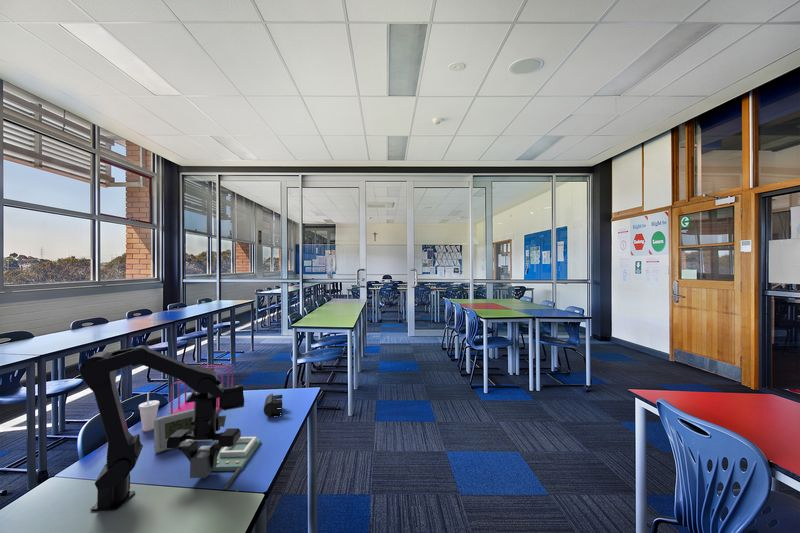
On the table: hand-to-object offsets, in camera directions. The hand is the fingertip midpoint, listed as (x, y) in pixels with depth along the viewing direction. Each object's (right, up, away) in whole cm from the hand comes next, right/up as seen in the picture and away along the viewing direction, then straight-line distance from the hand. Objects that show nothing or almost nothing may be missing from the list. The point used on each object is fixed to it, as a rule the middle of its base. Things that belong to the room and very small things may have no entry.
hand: (204, 466), depth 94 cm
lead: (+9, -3, 0) cm, 9 cm away
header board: (+2, -3, +11) cm, 12 cm away
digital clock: (-19, -4, +18) cm, 27 cm away
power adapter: (+3, -4, +43) cm, 44 cm away
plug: (0, -1, 0) cm, 1 cm away
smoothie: (-39, -4, +28) cm, 48 cm away
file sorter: (-31, -4, +50) cm, 59 cm away
